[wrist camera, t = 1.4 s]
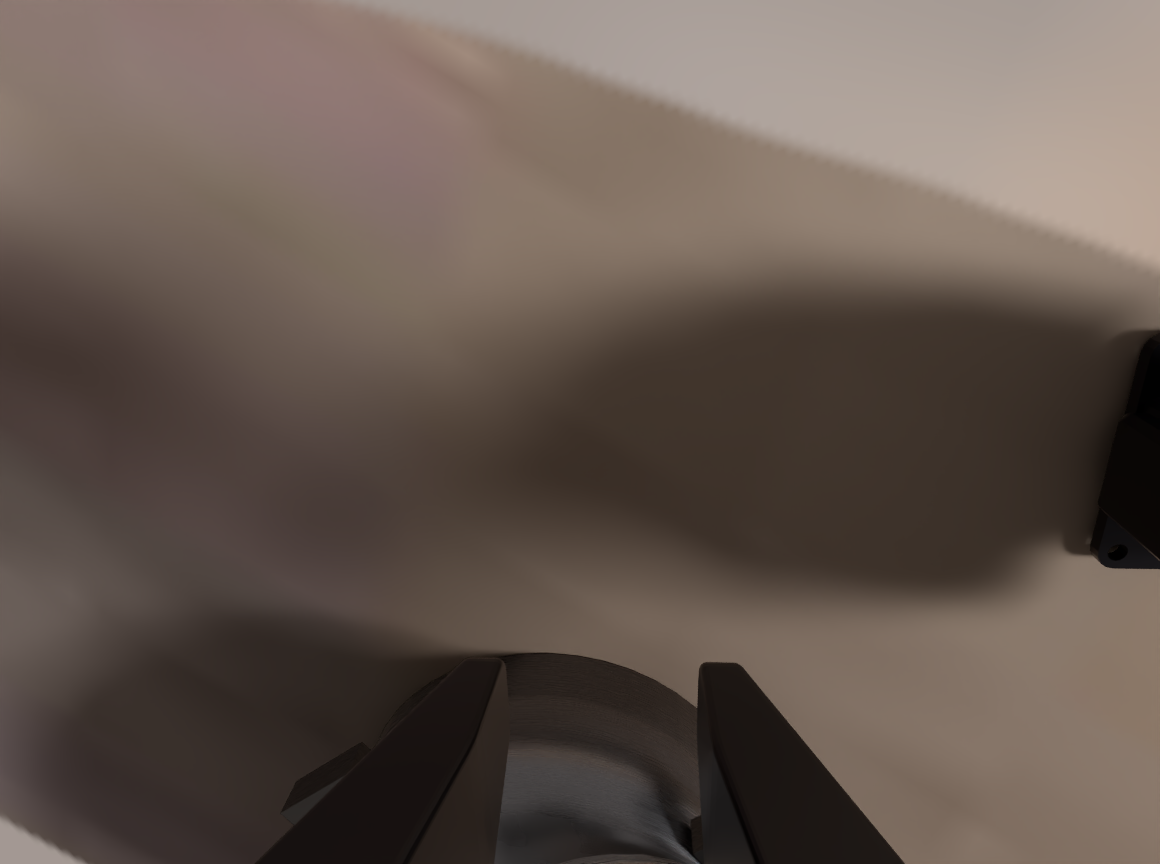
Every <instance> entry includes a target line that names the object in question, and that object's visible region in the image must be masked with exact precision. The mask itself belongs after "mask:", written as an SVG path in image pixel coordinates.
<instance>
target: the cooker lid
mask: <svg viewBox="0 0 1160 864" xmlns="http://www.w3.org/2000/svg"><path fill="white" fill-rule="evenodd" d="M560 864H683V863H680V862H677V861H675V860H672V859H667V858H661V857H656V856H651V855H645V854H604V855H597V856H591V857H584V858H578V859H573V860H570V861H567V862H563V863H560Z"/></svg>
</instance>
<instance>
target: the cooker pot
mask: <svg viewBox="0 0 1160 864" xmlns="http://www.w3.org/2000/svg"><path fill="white" fill-rule="evenodd" d="M498 658H500V659H501V660H502V661H503V662H504V664H505V667H506V675H507V687H508V699H509V711H510V739H509V748H508V756H507V764H506V772H505V780H504V788H503V796H502V804H501V812H500V820H499V828H498V836H497V844H496V852H495V860H494V864H560V863H563V862H567V861H570V860H573V859H578V858H584V857H591V856H597V855H604V854H645V855H651V856H656V857H661V858H667V859H672V860H675V861H677V862H680V863H683V864H704V854H703V837H702V819H701V802H700V785H699V768H698V750H697V708H696V707H694V706H693V705H692V704H690V703H689V702H688V701H687V700H685V699H684V698H683V697H681V696H680V695H679V694H677V693H676V692H674V691H672V690H671V689H669V688H667V687H666V686H664V685H662V684H660V683H659V682H657V681H655V680H653V679H651V678H649V677H646V676H644V675H642V674H640V673H637V672H635V671H633V670H630V669H627V668H624V667H621V666H618V665H614V664H611V663H608V662H605V661H600V660H595V659H590V658H585V657H580V656H571V655H560V654H521V655H513V656H504V657H498ZM451 672H452V671H451ZM451 672H449V673H447V674H446V675H444V676H442V677H440V678H438V679H436V680H434V681H432V682H430V683H429V684H428V685H426V686H425V687H423V688H422V689H421V690H419V691H418V692H416V693H415V694H414V695H412V696H411V697H410V698H409V699H408V700H407V701H406V702H405V703H404V704H403V705H402V706H401V707H400V708H399V709H398V710H397V711H396V713H395V714H394V715H393V717H392V718H391V719H390V721H389V722H388V723H387V725H386V726H385V728H384V730H383V732H382V734H381V736H380V738H379V740H378V742H377V744H378V743H379V742H380V741H381V740H382V739H383V738H384V737H385V736H386V735H387V734H388V733H389V732H390V731H391V730H392V729H393V728H394V727H395V726H396V725H397V724H398V723H399V722H400V721H401V720H402V719H403V718H404V717H406V716H407V715H408V714H409V713H410V712H411V711H412V710H413V709H414V708H415V707H416V706H417V705H418V704H419V703H420V702H421V701H422V700H423V699H424V698H425V697H426V696H427V695H428V694H429V693H430V692H431V691H432V690H433V689H434V688H435V687H436V686H437V685H438V684H439V683H440V682H441V681H442V680H443V679H444V678H445V677H446V676H448V675H449V674H450V673H451ZM377 744H376V745H377ZM370 751H371V750H370V749H369V748H368V747H367V746H366V745H365V744H364V743H362V742H361V743H359V744H358V745H356V746H354V747H353V748H351V749H349V750H348V751H346V752H344V753H343V754H341V755H339V756H338V757H336V758H334V759H333V760H331V761H329V762H328V763H326V764H324V765H323V766H321V767H319V768H318V769H316V770H314V771H313V772H311V773H309V774H308V775H306V776H304V777H303V778H301V779H299V780H298V781H297V782H296V783H295V785H294V787H293V789H292V791H291V793H290V795H289V797H288V799H287V801H286V803H285V805H284V807H283V809H282V811H281V814H282V815H283V816H284V817H285V818H286V819H288V820H289V821H290V822H291V823H292V824H293V825H295V824H296V823H297V822H298V821H299V820H300V819H301V818H302V817H303V816H304V815H305V814H306V813H307V812H308V811H309V810H310V809H311V808H312V807H313V806H314V805H315V804H316V803H317V802H318V801H319V800H321V799H322V798H323V797H324V796H325V795H326V794H327V793H328V792H329V791H330V790H331V789H332V788H333V787H334V786H335V785H336V784H337V783H338V782H339V781H340V780H341V779H342V778H343V777H344V776H345V775H346V774H347V773H348V772H349V771H350V770H351V769H352V768H353V767H354V766H355V765H356V764H357V763H358V762H359V761H360V760H361V759H363V758H364V757H365V756H366V755H367V754H368V753H369V752H370Z"/></svg>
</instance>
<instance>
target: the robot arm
mask: <svg viewBox="0 0 1160 864" xmlns="http://www.w3.org/2000/svg"><path fill="white" fill-rule="evenodd" d="M1098 505H1099V507H1100V510H1099V514H1098V518H1097V521H1096V525H1095V529H1094V533H1093V537H1092V541H1091V544H1090V551H1091V553H1092V555H1093V556H1094V557H1095V558H1096V559H1097V560H1098V561H1099V562H1100V563H1101V564H1102V565H1104V566H1106V567H1109V568H1125V569H1160V334H1158V335H1156V336H1154V337H1152V338H1150V339H1149V340H1148V341H1147V342H1146V343H1145V344H1144V346H1143V348H1142V350H1141V353H1140V357H1139V360H1138V364H1137V368H1136V372H1135V376H1134V380H1133V383H1132V387H1131V391H1130V395H1129V399H1128V403H1127V406H1126V410H1125V414H1124V416H1123V418H1122V419H1121V420H1120V421H1119V423H1118V427H1117V431H1116V434H1115V438H1114V442H1113V446H1112V450H1111V454H1110V458H1109V462H1108V465H1107V469H1106V473H1105V477H1104V481H1103V485H1102V489H1101V492H1100V496H1099V500H1098ZM1114 545H1119V547H1118V548H1117V549H1116V550H1115V551H1113V552H1110V553H1108V551H1109V549H1110V548H1111V547H1113V546H1114ZM509 739H510V711H509V699H508V687H507V675H506V667H505V664H504V662H503V661H502V660H501V659H500V658H478V657H471V658H467V659H465V660H463V661H462V662H461V663H460V664H459V665H458V666H457V667H456V668H455V669H454V670H453V671H452V672H451V673H450V674H449V675H448V676H446V677H445V678H444V679H443V680H442V681H441V682H440V683H439V684H438V685H437V686H436V687H435V688H434V689H433V690H432V691H431V692H430V693H429V694H428V695H427V696H426V697H425V698H424V699H423V700H422V701H421V702H420V703H419V704H418V705H417V706H416V707H415V708H414V709H413V710H412V711H411V712H410V713H409V714H408V715H407V716H406V717H404V718H403V719H402V720H401V721H400V722H399V723H398V724H397V725H396V726H395V727H394V728H393V729H392V730H391V731H390V732H389V733H388V734H387V735H386V736H385V737H384V738H383V739H382V740H381V741H380V742H379V743H378V744H377V745H376V746H375V747H374V748H373V749H372V750H371V751H370V752H369V753H368V754H367V755H366V756H365V757H364V758H363V759H361V760H360V761H359V762H358V763H357V764H356V765H355V766H354V767H353V768H352V769H351V770H350V771H349V772H348V773H347V774H346V775H345V776H344V777H343V778H342V779H341V780H340V781H339V782H338V783H337V784H336V785H335V786H334V787H333V788H332V789H331V790H330V791H329V792H328V793H327V794H326V795H325V796H324V797H323V798H322V799H321V800H319V801H318V802H317V803H316V804H315V805H314V806H313V807H312V808H311V809H310V810H309V811H308V812H307V813H306V814H305V815H304V816H303V817H302V818H301V819H300V820H299V821H298V822H297V823H296V824H295V825H294V826H293V827H292V828H291V829H290V830H289V831H288V832H287V833H286V834H285V835H284V836H283V837H282V838H281V839H280V840H279V841H278V842H276V843H275V844H274V845H273V846H272V847H271V848H270V849H269V850H268V851H267V852H266V853H265V854H264V855H263V856H262V857H261V858H260V859H259V860H258V861H257V862H256V863H255V864H494V860H495V852H496V844H497V836H498V828H499V820H500V812H501V804H502V796H503V788H504V780H505V772H506V764H507V756H508V748H509ZM697 750H698V768H699V785H700V802H701V819H702V837H703V854H704V864H905V863H904V862H903V861H902V860H901V858H900V857H899V856H898V855H897V853H896V852H895V851H894V850H893V849H892V847H891V846H890V845H889V844H888V843H887V841H886V840H885V839H884V838H883V837H882V835H881V834H880V833H879V832H878V830H877V829H876V828H875V827H874V826H873V824H872V823H871V822H870V821H869V820H868V818H867V817H866V816H865V815H864V814H863V812H862V811H861V810H860V809H859V807H858V806H857V805H856V804H855V803H854V801H853V800H852V799H851V798H850V797H849V795H848V794H847V793H846V792H845V791H844V789H843V788H842V787H841V786H840V785H839V783H838V782H837V781H836V780H835V778H834V777H833V776H832V775H831V774H830V772H829V771H828V770H827V769H826V768H825V766H824V765H823V764H822V763H821V762H820V760H819V759H818V758H817V757H816V755H815V754H814V753H813V752H812V751H811V749H810V748H809V747H808V746H807V745H806V743H805V742H804V741H803V740H802V739H801V737H800V736H799V735H798V734H797V732H796V731H795V730H794V729H793V728H792V726H791V725H790V724H789V723H788V722H787V720H786V719H785V718H784V717H783V716H782V714H781V713H780V712H779V711H778V710H777V708H776V707H775V706H774V705H773V703H772V702H771V701H770V700H769V699H768V697H767V696H766V695H765V694H764V693H763V691H762V690H761V689H760V688H759V687H758V685H757V684H756V683H755V682H754V680H753V679H752V678H751V677H750V676H749V674H748V673H747V672H746V671H745V670H744V668H743V667H742V666H740V665H739V664H737V663H722V662H705V663H703V664H701V666H700V668H699V678H698V706H697Z"/></svg>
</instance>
